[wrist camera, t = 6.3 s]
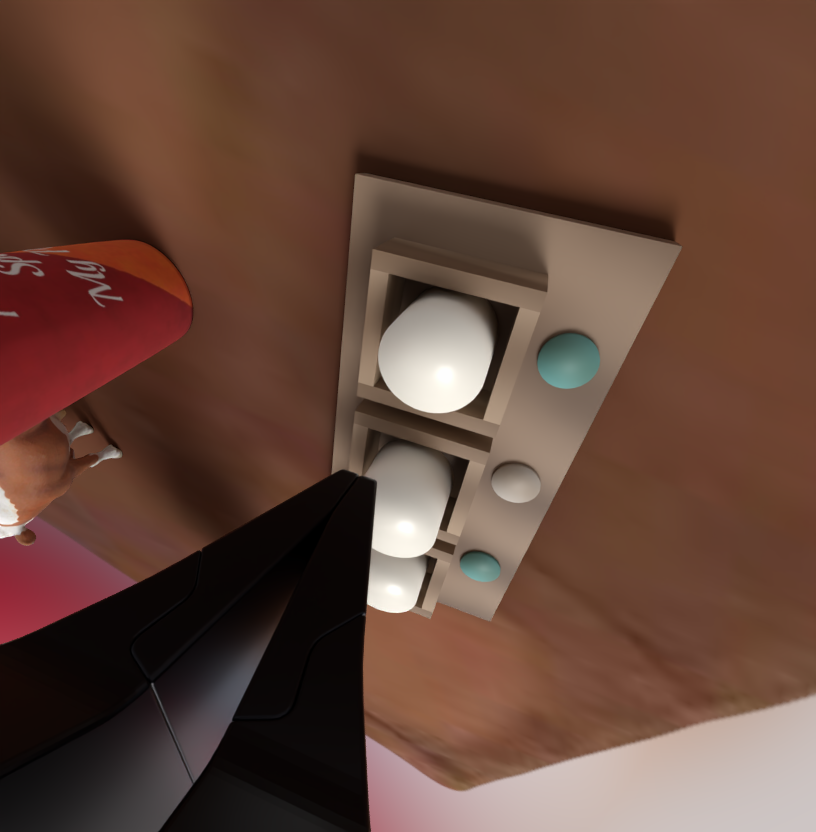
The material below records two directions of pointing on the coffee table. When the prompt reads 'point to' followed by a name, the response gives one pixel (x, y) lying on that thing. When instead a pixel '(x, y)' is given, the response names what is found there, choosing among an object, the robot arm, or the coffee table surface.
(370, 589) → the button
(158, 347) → the paper cup
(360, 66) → the coffee table surface
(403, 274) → the board
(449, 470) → the button mid
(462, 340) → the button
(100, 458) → the bull figurine
